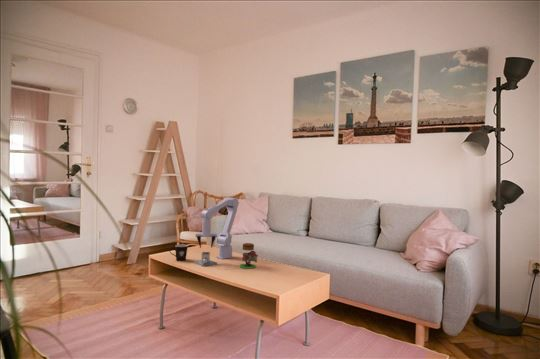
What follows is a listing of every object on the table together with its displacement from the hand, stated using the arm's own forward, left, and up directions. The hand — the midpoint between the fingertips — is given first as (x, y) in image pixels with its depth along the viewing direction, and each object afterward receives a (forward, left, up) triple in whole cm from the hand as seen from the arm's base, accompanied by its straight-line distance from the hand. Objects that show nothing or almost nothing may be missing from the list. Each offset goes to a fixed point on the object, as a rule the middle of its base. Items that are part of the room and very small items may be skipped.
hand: (205, 247), depth 247 cm
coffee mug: (+13, -14, -10) cm, 22 cm away
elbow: (+3, +5, -9) cm, 11 cm away
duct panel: (+2, +4, -10) cm, 11 cm away
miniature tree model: (-18, +26, -10) cm, 33 cm away
